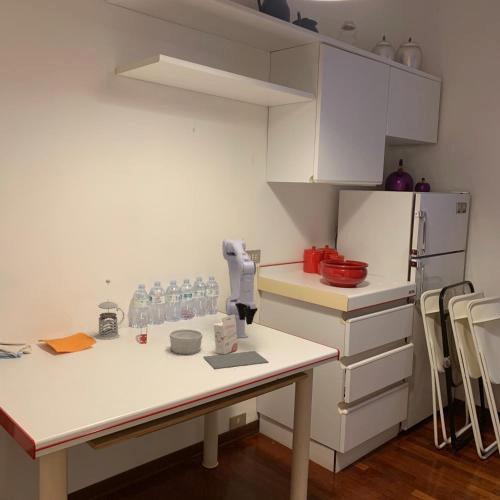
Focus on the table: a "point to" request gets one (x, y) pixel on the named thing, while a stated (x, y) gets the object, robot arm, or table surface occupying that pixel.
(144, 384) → the table surface
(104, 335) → the french press
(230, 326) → the ink cartridge box
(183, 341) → the ramekin
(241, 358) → the mat
